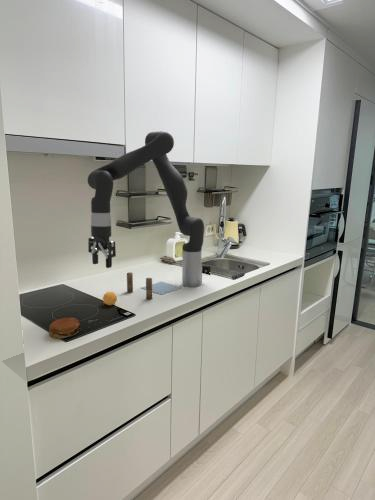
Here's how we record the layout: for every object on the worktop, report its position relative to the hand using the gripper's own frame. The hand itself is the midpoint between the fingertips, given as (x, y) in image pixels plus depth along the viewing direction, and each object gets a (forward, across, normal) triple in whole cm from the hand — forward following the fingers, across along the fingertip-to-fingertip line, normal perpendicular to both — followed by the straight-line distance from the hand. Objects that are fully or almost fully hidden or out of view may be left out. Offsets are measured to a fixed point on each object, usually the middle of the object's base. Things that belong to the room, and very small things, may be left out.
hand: (101, 265), depth 133 cm
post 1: (+17, +7, -20) cm, 28 cm away
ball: (+15, +1, -4) cm, 15 cm away
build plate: (+17, +2, -71) cm, 73 cm away
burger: (+19, -9, +22) cm, 30 cm away
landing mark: (+17, +1, -34) cm, 38 cm away
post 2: (+17, -5, -20) cm, 27 cm away
